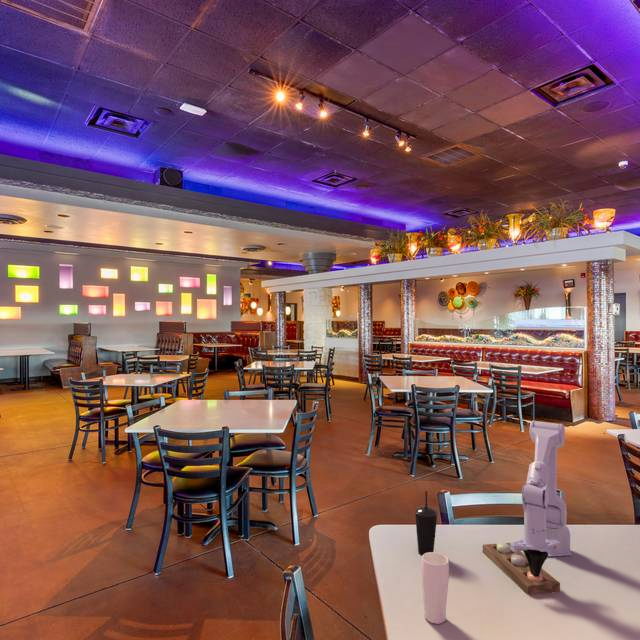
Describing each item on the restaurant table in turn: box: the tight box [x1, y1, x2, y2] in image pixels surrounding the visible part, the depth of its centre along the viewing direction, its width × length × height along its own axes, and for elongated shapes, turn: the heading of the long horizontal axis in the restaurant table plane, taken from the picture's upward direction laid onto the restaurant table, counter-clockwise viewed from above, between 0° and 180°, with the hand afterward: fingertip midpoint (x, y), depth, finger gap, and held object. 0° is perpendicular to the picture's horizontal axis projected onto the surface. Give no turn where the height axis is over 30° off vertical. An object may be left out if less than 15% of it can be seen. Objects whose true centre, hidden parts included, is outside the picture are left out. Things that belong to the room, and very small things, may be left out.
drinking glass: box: [421, 551, 450, 625], centre depth 113 cm, size 7×7×15 cm
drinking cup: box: [413, 490, 439, 557], centre depth 146 cm, size 8×8×20 cm
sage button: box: [496, 542, 510, 554], centre depth 144 cm, size 4×4×3 cm
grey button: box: [511, 555, 525, 567], centre depth 136 cm, size 4×4×3 cm
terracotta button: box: [527, 571, 543, 582], centre depth 128 cm, size 4×4×3 cm
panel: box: [482, 542, 561, 596], centre depth 136 cm, size 10×24×2 cm, turn 9°
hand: (534, 574), depth 128 cm, fingers closed
